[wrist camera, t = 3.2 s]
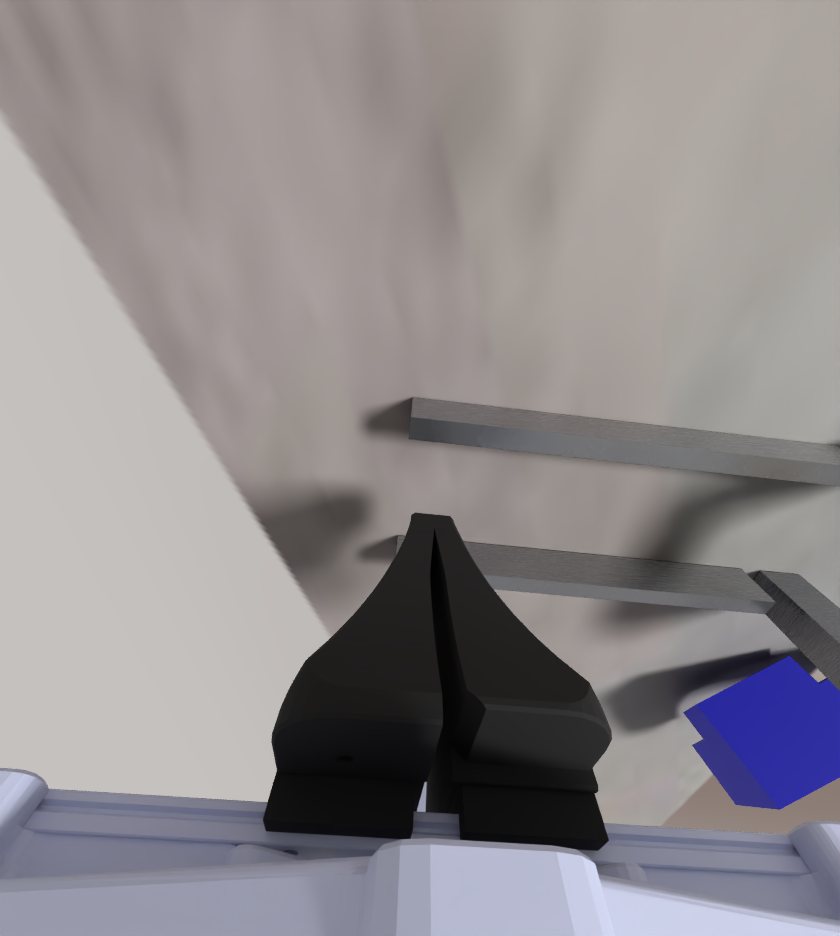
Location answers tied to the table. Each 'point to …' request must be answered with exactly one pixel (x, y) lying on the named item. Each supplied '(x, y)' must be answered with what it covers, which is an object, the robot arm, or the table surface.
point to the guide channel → (627, 446)
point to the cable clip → (771, 735)
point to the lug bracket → (805, 619)
